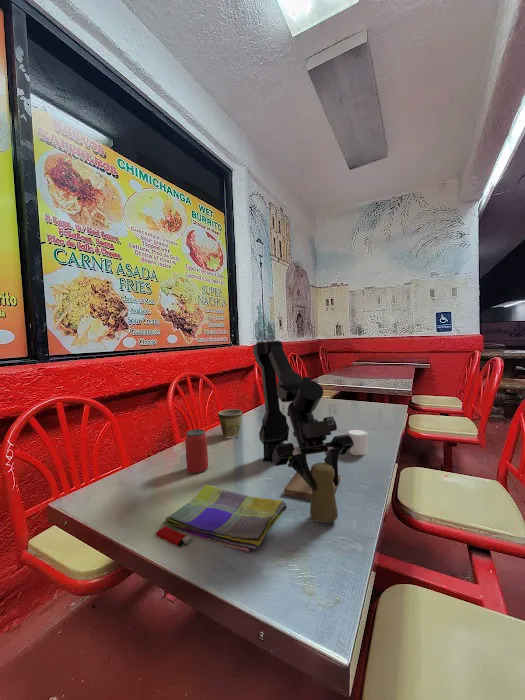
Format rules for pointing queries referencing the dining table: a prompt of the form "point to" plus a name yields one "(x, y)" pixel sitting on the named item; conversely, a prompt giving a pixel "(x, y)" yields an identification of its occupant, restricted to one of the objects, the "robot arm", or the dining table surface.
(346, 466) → the dining table surface
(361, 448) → the white cylinder
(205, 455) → the beer can
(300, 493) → the walnut board
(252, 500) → the dish towel
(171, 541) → the lighter
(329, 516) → the olive brown peg figure
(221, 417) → the ceramic cup
